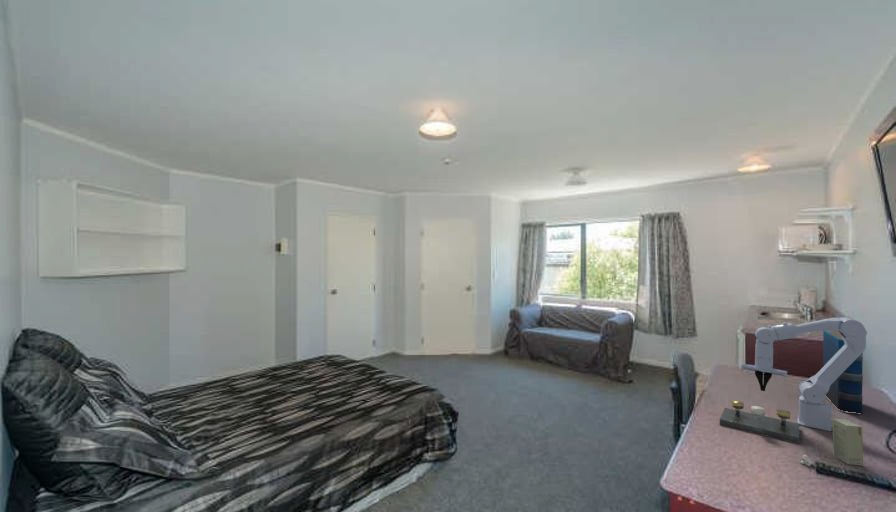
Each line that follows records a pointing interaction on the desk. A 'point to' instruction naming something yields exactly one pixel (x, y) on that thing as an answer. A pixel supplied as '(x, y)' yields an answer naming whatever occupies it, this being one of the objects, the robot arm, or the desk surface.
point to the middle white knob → (758, 412)
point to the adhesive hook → (806, 460)
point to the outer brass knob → (737, 405)
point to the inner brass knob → (783, 415)
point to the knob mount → (760, 425)
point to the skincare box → (847, 441)
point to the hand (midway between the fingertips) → (762, 390)
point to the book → (844, 376)
